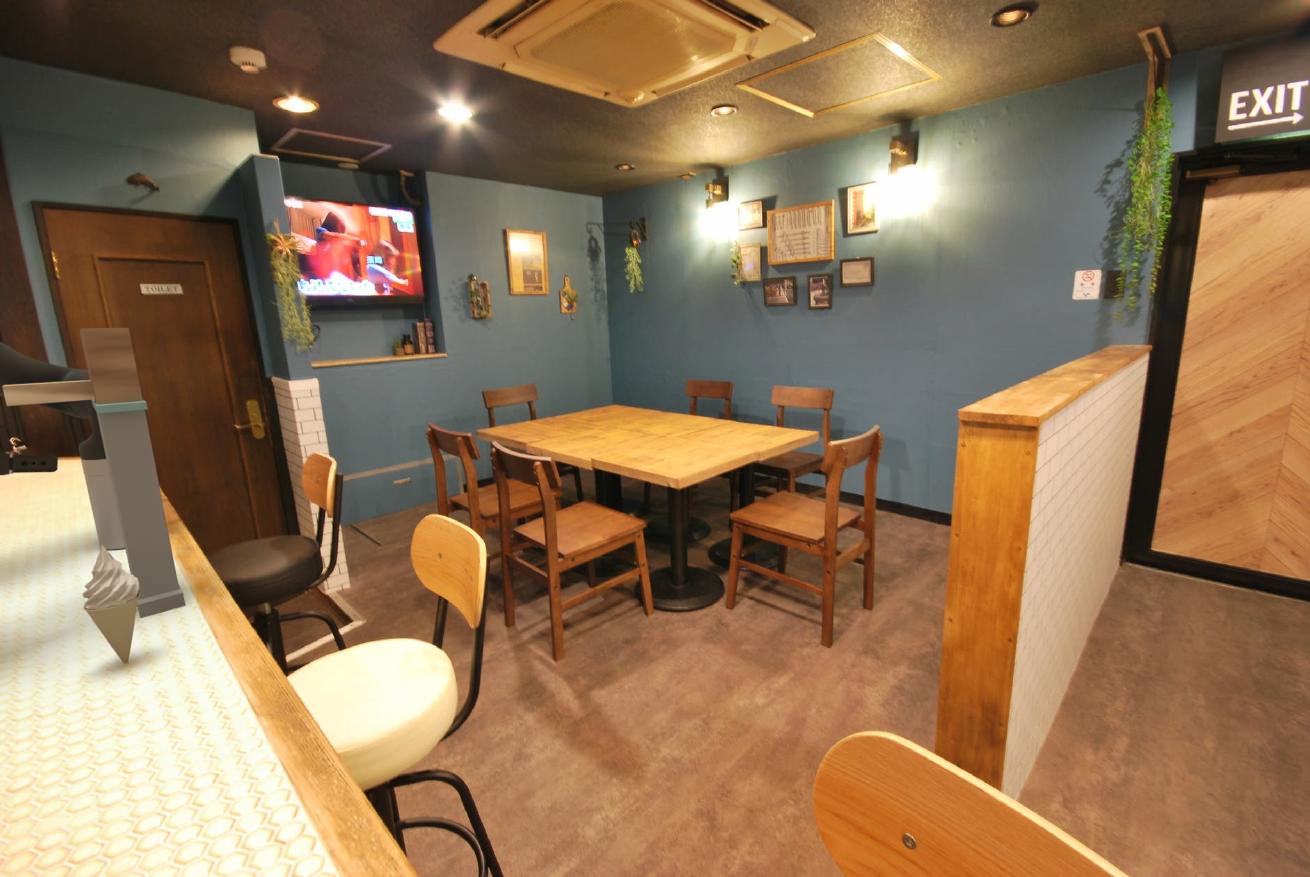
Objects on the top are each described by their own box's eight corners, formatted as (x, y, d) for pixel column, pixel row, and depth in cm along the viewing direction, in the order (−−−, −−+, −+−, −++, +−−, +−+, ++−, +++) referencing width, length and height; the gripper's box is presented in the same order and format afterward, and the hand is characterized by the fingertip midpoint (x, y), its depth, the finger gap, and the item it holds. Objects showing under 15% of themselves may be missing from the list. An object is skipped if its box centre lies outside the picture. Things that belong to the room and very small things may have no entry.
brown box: (10, 406, 78) (-8, 331, 76) (135, 396, 87) (122, 329, 85) (6, 412, 71) (-14, 329, 70) (142, 400, 80) (128, 327, 79)
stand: (131, 588, 91) (91, 398, 85) (172, 578, 95) (136, 395, 89) (140, 617, 81) (96, 405, 76) (185, 605, 85) (146, 401, 79)
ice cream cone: (163, 654, 72) (139, 539, 69) (114, 677, 67) (87, 555, 64) (136, 648, 73) (112, 535, 71) (87, 670, 69) (59, 550, 66)
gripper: (-162, 426, 58) (65, 432, 71) (-176, 430, 65) (32, 435, 79) (-165, 502, 57) (63, 493, 71) (-179, 497, 65) (30, 490, 79)
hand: (46, 463), depth 75 cm, fingers open, 8 cm apart
